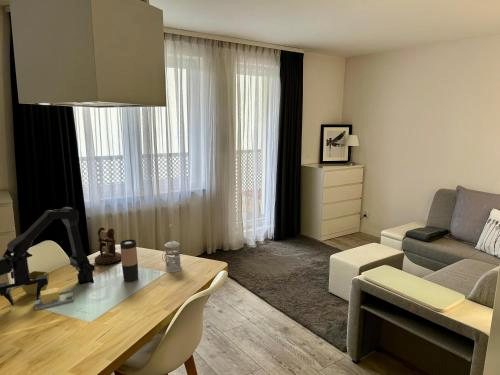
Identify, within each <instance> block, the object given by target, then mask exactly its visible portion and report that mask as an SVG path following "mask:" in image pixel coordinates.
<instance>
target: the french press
mask: <svg viewBox="0 0 500 375" xmlns="http://www.w3.org/2000/svg"><path fill="white" fill-rule="evenodd" d="M168 226H169V228H172V227H174V225H173V224H169V225H168ZM170 236H171V238H170V239H171V241H168V242H166V243H165V244H164V247H165V249H164V250H163V251H162V253H161V254H162V255H161V258H162V261H163V262H164V263H165V268H164V271H165V272H168V273H175V272H179V271H182V270H183V266H182V265H181V254H180V250H179V249H173V248H177V247H179V246H180V243H179V242H178V241H175V240H173V234H172V231H170ZM166 248H168V249H166ZM163 256H164V257H163Z"/></svg>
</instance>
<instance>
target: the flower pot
mask: <svg viewBox="0 0 500 375" xmlns="http://www.w3.org/2000/svg"><path fill="white" fill-rule="evenodd" d="M29 272H30V277H31V279H30V280H34V279H37V276H41V275H47V277H48V282H49V279H50V278H49V277H50V272H49V271H42V270H33V271H29ZM48 285H49V283H48V284H47V285H45V286H44V287H42V288H41V291H43V290H47V287H48ZM21 289H22V291H24V292H25V293H26V294H27V295H34V296H35V295H36V294H37V283H36V284H32V285H27V286H22V287H21ZM41 291H40V293H41ZM40 293H39V294H40Z"/></svg>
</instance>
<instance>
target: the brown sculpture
mask: <svg viewBox="0 0 500 375" xmlns="http://www.w3.org/2000/svg"><path fill="white" fill-rule="evenodd" d="M97 235H98V239H97V241H98V242H99V244H98V246H99V247H98V250H99V254H97V256H95V257H94V262H95V264H99V265H100V264H101V265H105V264H107V265H108V266H110V265H111V264H112V263H115V262H119V261H120V260H121V252H116V240H115V230H114V228H109V229H108V230H106V228H105V227H100V228H98V230H97Z"/></svg>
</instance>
